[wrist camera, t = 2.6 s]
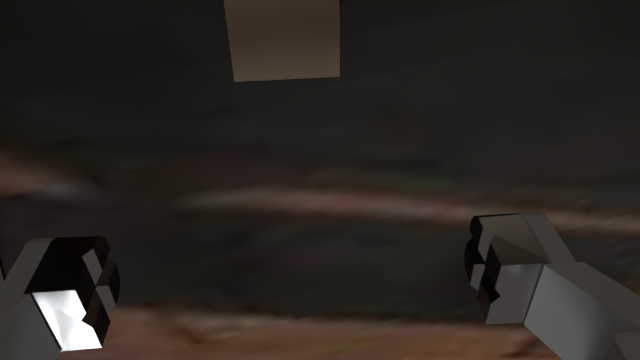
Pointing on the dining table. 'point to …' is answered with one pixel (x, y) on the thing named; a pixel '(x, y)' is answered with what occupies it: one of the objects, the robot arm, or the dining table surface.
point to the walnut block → (283, 39)
